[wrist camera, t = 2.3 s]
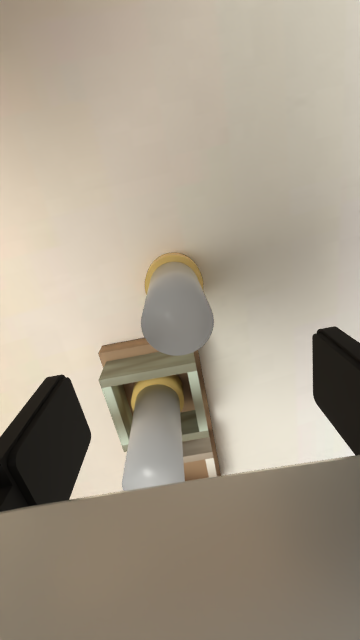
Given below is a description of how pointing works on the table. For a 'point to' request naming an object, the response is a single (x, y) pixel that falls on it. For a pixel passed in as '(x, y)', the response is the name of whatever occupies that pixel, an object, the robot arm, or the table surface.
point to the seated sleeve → (155, 434)
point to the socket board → (148, 363)
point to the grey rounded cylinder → (175, 306)
